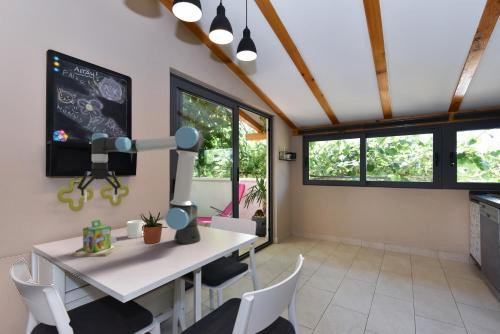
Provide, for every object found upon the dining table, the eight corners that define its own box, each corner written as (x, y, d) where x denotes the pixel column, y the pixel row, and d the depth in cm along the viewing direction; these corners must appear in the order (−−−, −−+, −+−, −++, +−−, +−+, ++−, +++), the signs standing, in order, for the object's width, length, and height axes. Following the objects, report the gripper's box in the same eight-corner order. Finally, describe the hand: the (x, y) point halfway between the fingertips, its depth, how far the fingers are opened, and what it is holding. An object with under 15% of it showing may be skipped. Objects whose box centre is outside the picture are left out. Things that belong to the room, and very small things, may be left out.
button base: (116, 241, 144) (116, 236, 144) (105, 247, 134) (105, 241, 134) (99, 241, 144) (99, 236, 144) (87, 246, 134) (87, 241, 134)
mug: (123, 238, 151) (123, 223, 151) (133, 234, 160) (133, 219, 160) (142, 238, 149) (142, 223, 149) (150, 235, 158) (150, 220, 158)
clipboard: (121, 247, 133) (121, 245, 133) (106, 256, 120) (106, 253, 120) (88, 247, 133) (88, 244, 133) (69, 256, 120) (69, 253, 120)
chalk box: (94, 253, 121) (94, 223, 121) (82, 251, 124) (82, 221, 124) (111, 247, 129) (111, 219, 129) (99, 245, 133) (99, 218, 133)
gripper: (126, 162, 142) (126, 199, 142) (74, 162, 133) (74, 201, 133) (124, 162, 135) (124, 200, 135) (70, 161, 126) (70, 203, 126)
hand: (99, 201), depth 134 cm, fingers open, 13 cm apart
